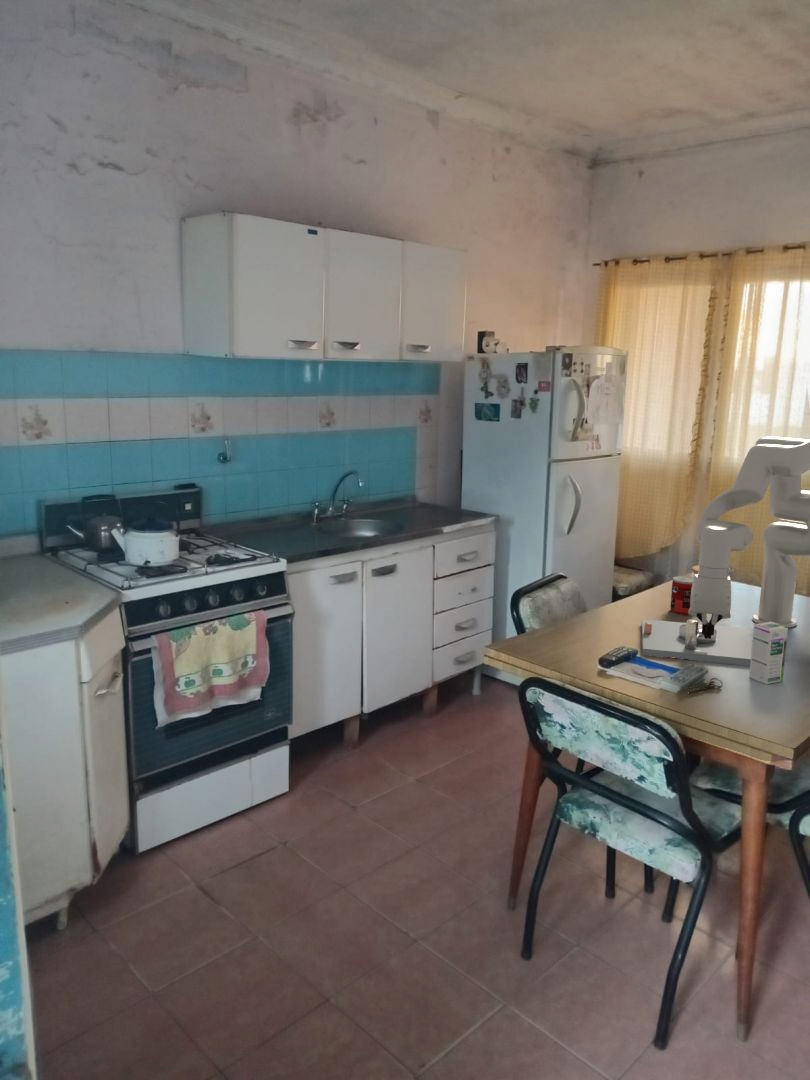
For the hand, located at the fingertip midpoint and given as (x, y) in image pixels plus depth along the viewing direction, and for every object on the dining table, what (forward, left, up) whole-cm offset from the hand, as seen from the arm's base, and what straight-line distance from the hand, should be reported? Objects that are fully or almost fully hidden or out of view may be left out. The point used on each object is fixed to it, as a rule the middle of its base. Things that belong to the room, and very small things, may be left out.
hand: (707, 637), depth 224 cm
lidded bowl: (-68, +6, -6) cm, 69 cm away
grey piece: (-7, -2, -3) cm, 8 cm away
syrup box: (+13, +13, -6) cm, 20 cm away
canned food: (-43, -4, -6) cm, 44 cm away
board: (-10, -2, -6) cm, 12 cm away
